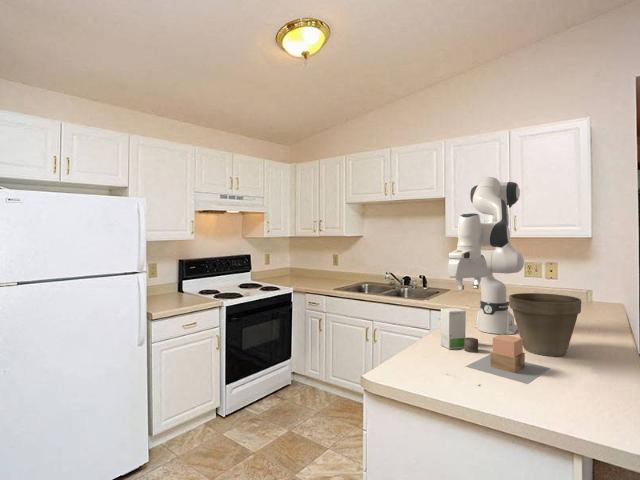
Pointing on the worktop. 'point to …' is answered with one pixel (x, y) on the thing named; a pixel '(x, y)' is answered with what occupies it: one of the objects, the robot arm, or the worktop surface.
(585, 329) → the worktop surface
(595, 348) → the worktop surface
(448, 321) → the skincare box
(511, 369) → the walnut base block
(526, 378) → the slate mat
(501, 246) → the robot arm
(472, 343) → the espresso cylinder
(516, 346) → the terracotta top block
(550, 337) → the plant pot
